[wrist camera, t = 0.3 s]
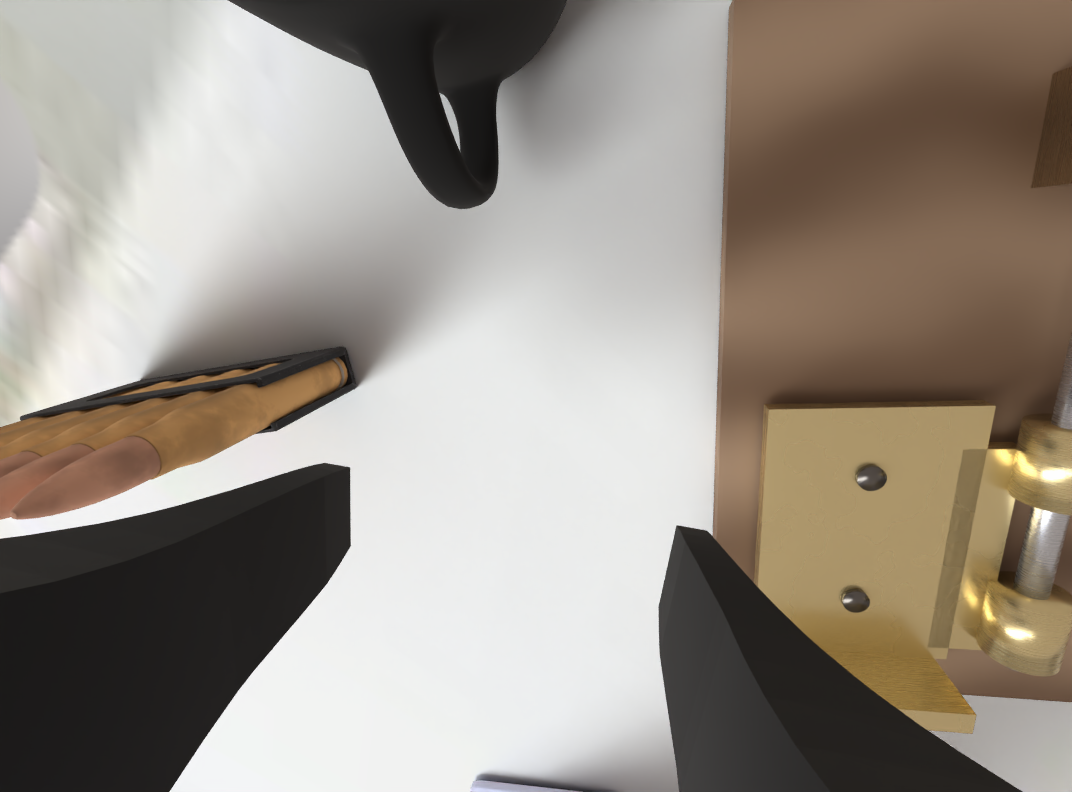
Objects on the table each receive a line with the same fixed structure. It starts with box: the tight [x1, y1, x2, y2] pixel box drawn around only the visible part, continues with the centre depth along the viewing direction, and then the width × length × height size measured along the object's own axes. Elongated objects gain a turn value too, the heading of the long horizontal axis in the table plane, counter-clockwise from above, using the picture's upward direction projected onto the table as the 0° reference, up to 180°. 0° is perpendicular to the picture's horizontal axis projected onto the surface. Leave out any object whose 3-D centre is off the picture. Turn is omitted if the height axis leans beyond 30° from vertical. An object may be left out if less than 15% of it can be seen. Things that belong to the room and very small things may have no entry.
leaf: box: [754, 332, 1072, 734], centre depth 17 cm, size 15×10×3 cm, turn 4°
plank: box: [713, 0, 1072, 702], centre depth 17 cm, size 25×20×1 cm
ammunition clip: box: [0, 347, 356, 520], centre depth 17 cm, size 11×2×12 cm, turn 101°
